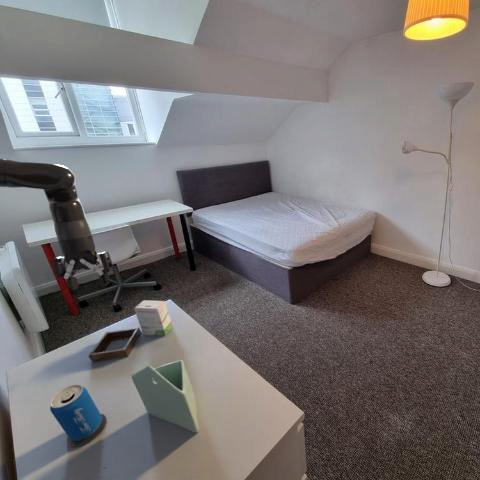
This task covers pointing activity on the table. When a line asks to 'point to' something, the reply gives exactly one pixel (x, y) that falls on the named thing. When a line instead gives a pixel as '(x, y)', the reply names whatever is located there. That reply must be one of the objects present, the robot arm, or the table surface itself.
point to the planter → (168, 394)
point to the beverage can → (76, 412)
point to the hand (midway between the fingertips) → (90, 287)
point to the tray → (108, 337)
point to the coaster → (91, 436)
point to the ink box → (153, 317)
